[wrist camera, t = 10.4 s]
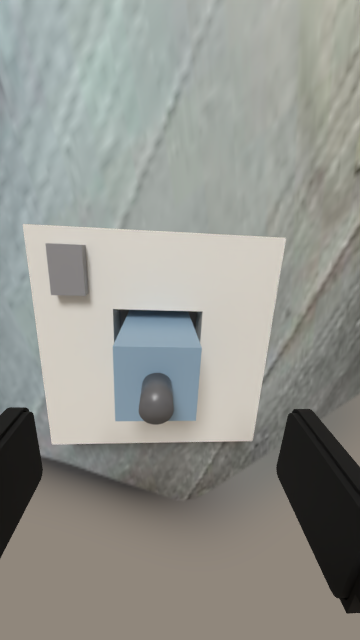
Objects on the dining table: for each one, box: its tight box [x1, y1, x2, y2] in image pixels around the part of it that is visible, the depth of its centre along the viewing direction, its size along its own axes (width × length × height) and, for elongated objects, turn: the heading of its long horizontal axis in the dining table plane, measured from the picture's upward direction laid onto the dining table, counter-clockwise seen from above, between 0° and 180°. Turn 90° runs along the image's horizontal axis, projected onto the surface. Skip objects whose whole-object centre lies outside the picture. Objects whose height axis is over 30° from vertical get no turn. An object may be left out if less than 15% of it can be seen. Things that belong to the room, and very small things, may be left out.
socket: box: [23, 224, 286, 444], centre depth 19 cm, size 16×16×4 cm
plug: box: [113, 310, 202, 425], centre depth 16 cm, size 4×4×9 cm
